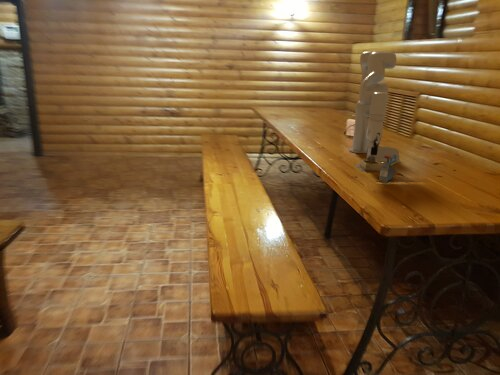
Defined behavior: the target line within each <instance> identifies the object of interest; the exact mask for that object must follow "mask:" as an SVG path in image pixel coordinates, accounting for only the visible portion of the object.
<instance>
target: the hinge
mask: <svg viewBox="0 0 500 375" xmlns="http://www.w3.org/2000/svg"><path fill="white" fill-rule="evenodd" d="M385 155H389V156H393V157H394V156H396V155H397V159H396V163H401V160H400V152H399V149H397V148H395V147H392V146H378V151H377V155H376V159H375V160H376V161H377V162H387V158H384V156H385ZM393 160H394V159H393ZM393 160H392V161H393ZM389 162H390V159H389Z"/></svg>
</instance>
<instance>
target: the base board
mask: <svg viewBox="0 0 500 375" xmlns="http://www.w3.org/2000/svg"><path fill="white" fill-rule="evenodd" d="M353 165H354V166H355V167H356V168H357V169H358V170H359V171H361V172H362V173H380V171H381V170H380V171H365V170H363V169H362V168H361V167H360V163H359V164H358V163H357V164H356V163H355V164H353ZM394 173H397V170H394Z"/></svg>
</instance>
